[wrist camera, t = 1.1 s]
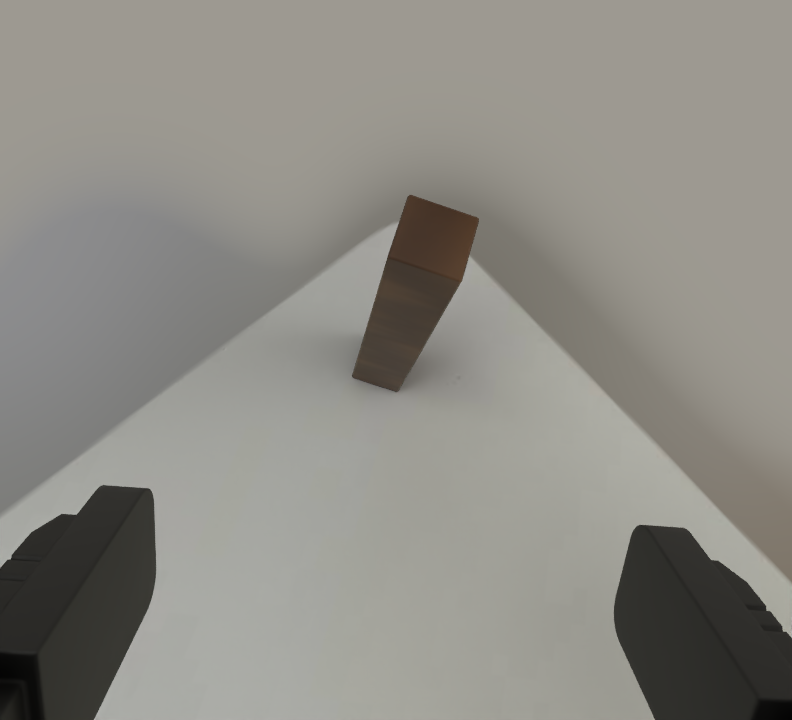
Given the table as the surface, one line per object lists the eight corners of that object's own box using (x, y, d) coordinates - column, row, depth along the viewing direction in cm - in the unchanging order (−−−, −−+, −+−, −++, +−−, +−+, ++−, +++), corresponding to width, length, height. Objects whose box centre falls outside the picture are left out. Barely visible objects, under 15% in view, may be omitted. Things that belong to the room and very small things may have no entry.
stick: (351, 377, 32) (387, 256, 20) (365, 334, 33) (408, 192, 21) (397, 392, 32) (462, 281, 20) (411, 349, 33) (480, 217, 21)
